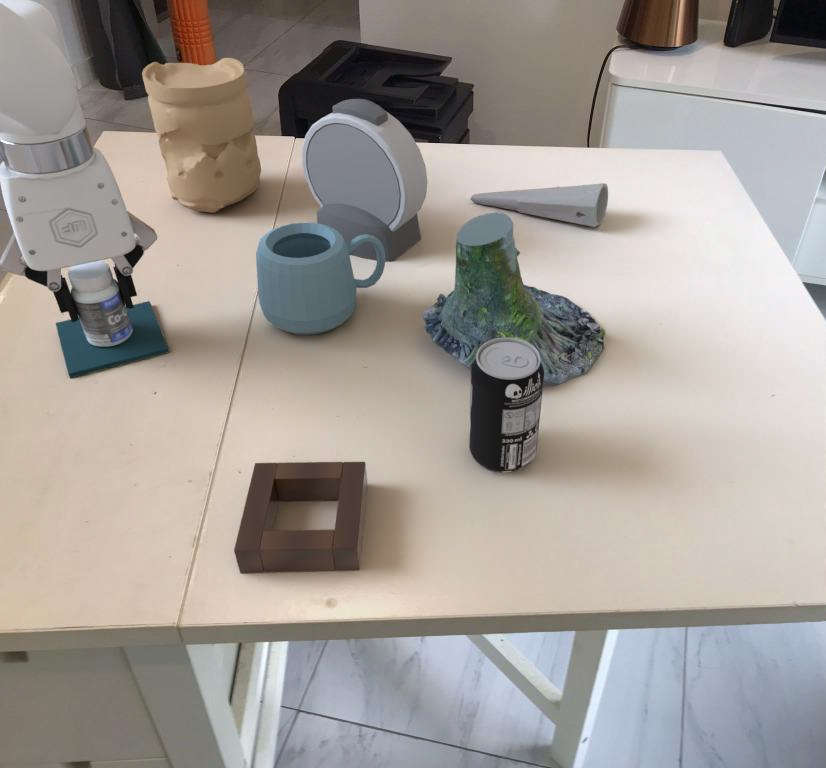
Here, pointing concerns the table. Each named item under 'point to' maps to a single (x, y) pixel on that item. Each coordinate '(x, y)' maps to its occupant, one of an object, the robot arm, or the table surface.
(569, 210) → the long tapered cone
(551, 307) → the tree stump
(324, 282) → the mug
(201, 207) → the container
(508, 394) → the beverage can
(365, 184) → the alarm clock
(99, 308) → the pill bottle
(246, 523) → the peg block
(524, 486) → the table surface
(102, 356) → the mat
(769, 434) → the table surface
